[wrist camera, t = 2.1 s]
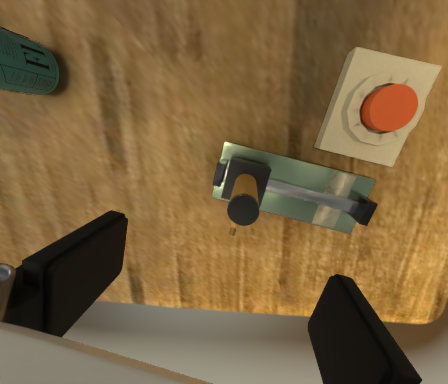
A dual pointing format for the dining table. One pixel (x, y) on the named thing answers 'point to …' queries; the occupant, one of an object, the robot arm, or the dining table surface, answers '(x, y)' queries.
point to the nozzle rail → (305, 189)
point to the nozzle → (244, 191)
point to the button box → (356, 95)
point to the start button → (389, 108)
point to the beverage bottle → (26, 65)
